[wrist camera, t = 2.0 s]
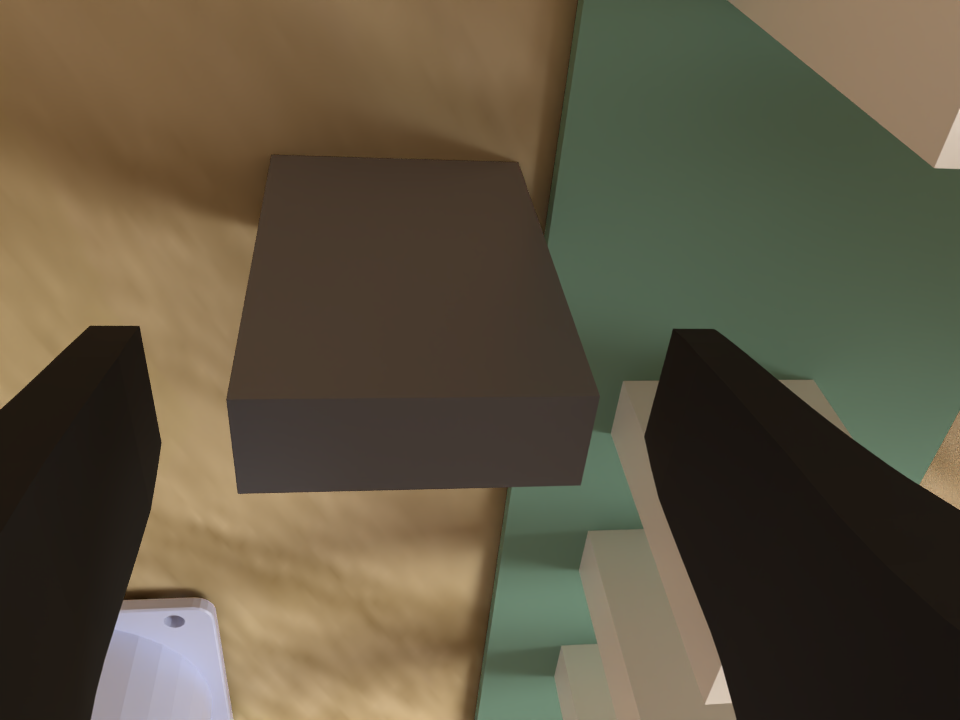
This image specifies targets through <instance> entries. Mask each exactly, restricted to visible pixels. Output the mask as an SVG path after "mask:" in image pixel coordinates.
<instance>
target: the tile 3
mask: <svg viewBox="0 0 960 720" xmlns="http://www.w3.org/2000/svg"><path fill="white" fill-rule="evenodd" d="M779 381H780V382H781V383H783V384H784V385H785V386H786V387H787V388H789V389H790V390H791V391H792V392H793V393H795V394H796V395H797V396H798V397H800V398H801V399H802V400H803V401H805V402H806V403H807V404H808V405H810V406H811V407H812V408H813V409H815V410H816V411H817V412H818V413H820V414H821V415H822V416H823V417H825V418H826V419H827V420H828V421H830V422H831V423H832V424H834V425H835V426H836V427H838V428H839V429H840V430H842V431H843V432H844V433H845V434H847V435H848V436H849V437H851V435H850V434H849V432H848V431H847V429H846V428H845V426H844V425H843V423H842V422H841V420H840V419H839V417H838V416H837V414H836V413H835V411H834V410H833V408H832V407H831V405H830V404H829V402H828V401H827V399H826V398H825V396H824V395H823V393H822V392H821V390H820V389H819V387H818V386H817V384H816V383H815V381H814V380H779ZM658 383H659V381H623V383H622V387H621V392H620V396H619V400H618V405H617V409H616V413H615V418H614V422H613V426H612V430H611V436H612V439H613V441H614V444H615V447H616V450H617V453H618V456H619V459H620V462H621V465H622V467H623V470H624V473H625V476H626V479H627V482H628V485H629V488H630V491H631V493H632V496H633V499H634V502H635V505H636V508H637V511H638V514H639V517H640V519H641V522H642V525H643V528H644V531H645V534H646V537H647V540H648V543H649V545H650V548H651V551H652V554H653V557H654V560H655V563H656V566H657V569H658V571H659V574H660V577H661V580H662V583H663V586H664V589H665V592H666V595H667V597H668V600H669V603H670V606H671V609H672V612H673V615H674V618H675V621H676V623H677V626H678V629H679V632H680V635H681V638H682V641H683V644H684V647H685V649H686V652H687V655H688V658H689V661H690V664H691V667H692V670H693V673H694V675H695V678H696V681H697V684H698V687H699V690H700V693H701V696H702V699H703V702H704V704H705V705H708V704H725V703H732V701H731V697H730V694H729V690H728V686H727V683H726V679H725V676H724V672H723V668H722V665H721V661H720V658H719V655H718V652H717V649H716V647H715V644H714V641H713V638H712V635H711V632H710V629H709V627H708V624H707V622H706V619H705V617H704V614H703V612H702V609H701V606H700V604H699V601H698V599H697V596H696V594H695V591H694V589H693V586H692V584H691V581H690V579H689V576H688V573H687V571H686V568H685V566H684V563H683V561H682V558H681V556H680V553H679V551H678V548H677V546H676V543H675V540H674V538H673V535H672V533H671V530H670V527H669V525H668V522H667V520H666V517H665V514H664V512H663V509H662V506H661V504H660V501H659V498H658V494H657V490H656V486H655V482H654V478H653V474H652V470H651V466H650V461H649V457H648V452H647V448H646V443H645V439H644V435H645V431H646V428H647V424H648V420H649V416H650V413H651V409H652V405H653V401H654V398H655V394H656V390H657V387H658ZM851 438H852V437H851ZM852 439H853V438H852Z"/></svg>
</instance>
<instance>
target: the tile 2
mask: <svg viewBox="0 0 960 720" xmlns="http://www.w3.org/2000/svg"><path fill="white" fill-rule="evenodd" d="M579 573H580V577H581V581H582V585H583V589H584V593H585V597H586V601H587V605H588V608H589V612H590V616H591V620H592V624H593V628H594V632H595V636H596V640H597V644H598V648H599V652H600V656H601V659H602V663H603V667H604V671H605V675H606V679H607V683H608V687H609V691H610V695H611V699H612V703H613V707H614V710H615V714H616V718H617V720H737V719H736V716H735V712H734V708H733V705H732V703H725V704H708V705H705V704H704V702H703V699H702V696H701V693H700V690H699V687H698V684H697V681H696V678H695V675H694V673H693V670H692V667H691V664H690V661H689V658H688V655H687V652H686V649H685V647H684V644H683V641H682V638H681V635H680V632H679V629H678V626H677V623H676V621H675V618H674V615H673V612H672V609H671V606H670V603H669V600H668V597H667V595H666V592H665V589H664V586H663V583H662V580H661V577H660V574H659V571H658V569H657V566H656V563H655V560H654V557H653V554H652V551H651V548H650V545H649V543H648V540H647V537H646V534H645V531H644V529H630V530H597V531H588V534H587V538H586V542H585V546H584V551H583V555H582V559H581V564H580V568H579Z"/></svg>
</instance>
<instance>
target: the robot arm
mask: <svg viewBox="0 0 960 720" xmlns="http://www.w3.org/2000/svg"><path fill="white" fill-rule="evenodd" d="M644 439H645V443H646V448H647V452H648V457H649V461H650V466H651V470H652V474H653V478H654V482H655V486H656V490H657V494H658V498H659V501H660V504H661V506H662V509H663V512H664V514H665V517H666V520H667V522H668V525H669V527H670V530H671V533H672V535H673V538H674V540H675V543H676V546H677V548H678V551H679V553H680V556H681V558H682V561H683V563H684V566H685V568H686V571H687V573H688V576H689V579H690V581H691V584H692V586H693V589H694V591H695V594H696V596H697V599H698V601H699V604H700V606H701V609H702V612H703V614H704V617H705V619H706V622H707V624H708V627H709V629H710V632H711V635H712V638H713V641H714V644H715V647H716V649H717V652H718V655H719V658H720V661H721V665H722V668H723V672H724V676H725V679H726V683H727V686H728V690H729V694H730V697H731V701H732V705H733V708H734V712H735V716H736V719H737V720H960V510H959V509H957V508H955V507H954V506H952V505H951V504H949V503H947V502H946V501H944V500H943V499H941V498H939V497H938V496H936V495H935V494H933V493H931V492H930V491H928V490H926V489H925V488H923V487H922V486H920V485H918V484H917V483H915V482H914V481H912V480H911V479H909V478H908V477H906V476H905V475H903V474H902V473H900V472H899V471H897V470H896V469H894V468H893V467H891V466H890V465H888V464H887V463H885V462H884V461H883V460H881V459H880V458H878V457H877V456H876V455H874V454H873V453H872V452H870V451H869V450H867V449H866V448H865V447H863V446H862V445H860V444H859V443H858V442H856V441H855V440H853V439H852V438H851V437H849V436H848V435H847V434H845V433H844V432H843V431H842V430H840V429H839V428H838V427H836V426H835V425H834V424H832V423H831V422H830V421H828V420H827V419H826V418H825V417H823V416H822V415H821V414H820V413H818V412H817V411H816V410H815V409H813V408H812V407H811V406H810V405H808V404H807V403H806V402H805V401H803V400H802V399H801V398H800V397H798V396H797V395H796V394H795V393H793V392H792V391H791V390H790V389H789V388H787V387H786V386H785V385H784V384H783V383H781V382H780V381H779V380H778V379H776V378H775V377H774V376H773V375H772V374H770V373H769V372H768V371H767V370H766V369H764V368H763V367H762V366H761V365H760V364H758V363H757V362H756V361H755V360H754V359H752V358H751V357H750V356H749V355H748V354H746V353H745V352H744V351H743V350H741V349H740V348H739V347H738V346H736V345H735V344H734V343H733V342H731V341H730V340H729V339H728V338H726V337H725V336H724V335H722V334H721V333H719V332H718V331H717V330H715V329H673V330H672V334H671V338H670V342H669V345H668V349H667V353H666V357H665V360H664V364H663V368H662V372H661V375H660V379H659V383H658V387H657V390H656V394H655V398H654V401H653V405H652V409H651V413H650V416H649V420H648V424H647V428H646V431H645V435H644ZM160 449H161V438H160V433H159V427H158V422H157V417H156V411H155V406H154V401H153V396H152V390H151V385H150V380H149V374H148V369H147V364H146V358H145V353H144V348H143V343H142V337H141V332H140V327H139V326H89V327H88V328H87V329H86V330H85V331H84V332H83V333H82V334H81V335H80V336H78V337H77V338H76V339H75V340H74V341H73V342H72V343H71V344H70V345H69V346H68V347H67V348H66V349H65V350H63V351H62V352H61V353H60V354H59V355H58V356H57V357H56V358H55V359H54V360H53V361H52V362H51V363H50V364H49V365H48V366H47V367H46V368H45V369H44V370H42V371H41V372H40V373H39V374H38V375H37V376H36V377H35V378H34V379H33V380H32V381H31V382H30V383H29V384H28V385H27V386H26V387H25V388H23V389H22V390H21V391H20V392H19V393H18V394H17V395H16V396H15V397H14V398H13V399H12V400H10V401H9V402H8V403H7V404H6V405H5V406H4V407H3V408H2V409H0V720H233V714H232V707H231V701H230V695H229V689H228V683H227V676H226V670H225V664H224V658H223V652H222V645H221V639H220V633H219V627H218V620H217V614H216V609H215V607H214V605H213V604H212V603H211V602H210V601H208V600H206V599H203V598H197V597H190V598H164V599H139V600H123V599H124V596H125V593H126V590H127V586H128V583H129V580H130V577H131V573H132V570H133V567H134V564H135V561H136V557H137V554H138V551H139V547H140V544H141V541H142V537H143V534H144V531H145V527H146V524H147V521H148V517H149V514H150V510H151V505H152V499H153V493H154V488H155V482H156V476H157V469H158V463H159V456H160Z"/></svg>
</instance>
